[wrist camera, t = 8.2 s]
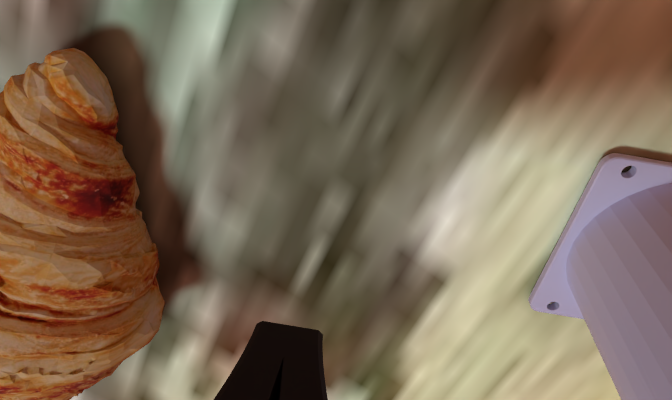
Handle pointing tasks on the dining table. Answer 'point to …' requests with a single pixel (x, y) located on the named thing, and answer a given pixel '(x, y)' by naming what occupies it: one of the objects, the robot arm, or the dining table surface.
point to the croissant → (69, 235)
